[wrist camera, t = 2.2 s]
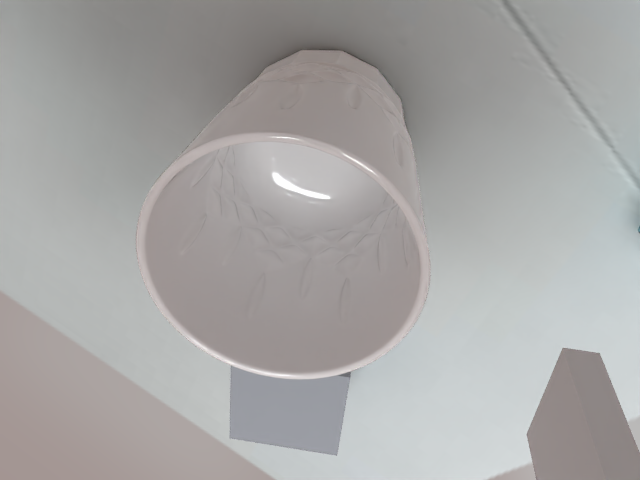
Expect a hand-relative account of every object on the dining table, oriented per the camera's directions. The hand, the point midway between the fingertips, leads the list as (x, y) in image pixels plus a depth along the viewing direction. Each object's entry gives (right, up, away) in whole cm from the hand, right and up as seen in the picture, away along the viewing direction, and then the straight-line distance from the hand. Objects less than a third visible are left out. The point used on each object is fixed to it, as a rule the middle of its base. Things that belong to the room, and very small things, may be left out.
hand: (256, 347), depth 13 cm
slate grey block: (+1, -2, +17) cm, 17 cm away
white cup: (+2, +7, +11) cm, 13 cm away
